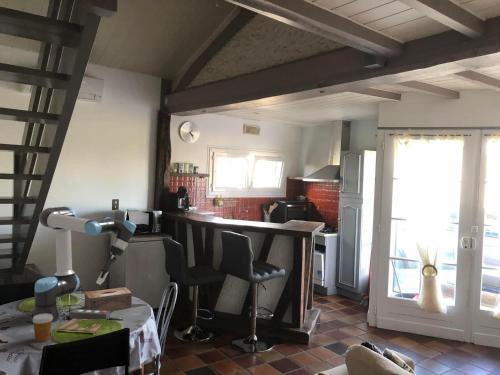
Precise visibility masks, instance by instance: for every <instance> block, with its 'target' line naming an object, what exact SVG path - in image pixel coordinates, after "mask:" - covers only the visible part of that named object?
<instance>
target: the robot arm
mask: <svg viewBox="0 0 500 375" xmlns="http://www.w3.org/2000/svg"><path fill="white" fill-rule="evenodd" d="M38 220H39V222H40V224H41V226H42V227H45V228H48V229H49V228H50V229H52V231H53V232H54V233H55V256H56V263H55V264H56V272H55V273H54V274H53V276H48V277H43V278H40V279H38V280H36V281H35V284H34V305H33V306H34V308H33V310H32V312H31V316H30V322H31V323H32V324H33V321H32V319H33V317H34V316H36V315H39V314H46V313H47V314H52V316H53V320H52V323H55V322H57V321H58V320H60V318H61V313H60V311H59V307H58V299H59V298H62V297H65V296H70V295H71V294H74V293H75V292H77V291H78V289H79V287H80V278H79V276H78V275H77V274H76V272H75V271H74V270H73V258H72V257H73V256H72V253H73V252H72V251H73V250H72V232H71V231H75V232H80V233H84V234H85V235H86V234H87V236H90V237H91V236H92V237H93V236H94V237H95V236H99V235H106V234H115V235H116V236H115V238H114V240H113V242H112V245H110V246H109V249H108V251H109V252H110V253H112V254H110V255H109V256H108V258H107V261H106V263H105V265H104V266H103V269H101V270H100V274H99V276H98V277H97V280H96V281H95V283H96V284H98V285H99V286H101V285H102V283H105V282H104V281H105V280H106V278H107V276H108V274H109V273H111V269H112V266H113V264H114V263H115V262H116V260H117V256H118V257H122V256H123V254H124V252H125V250H126V248H127V247H129V245H128V244H129V242H130V241H131V238H132V237H133V235H134V233H135V231H136V228H137V225H136V224H135V223H133V222H131V221H129V220H124V221H119V220H117V219H115V218H114V217H109V216H106V217H105V218H103V219H102V220H94V219H88V218H83V217H78V214H77V212H76V210H75V209H74V208H73V207H71V206H58V207H57V206H56V207H55V206H54V207H47V208H44V209H43V210H41V212H40V213H39V217H38Z"/></svg>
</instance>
